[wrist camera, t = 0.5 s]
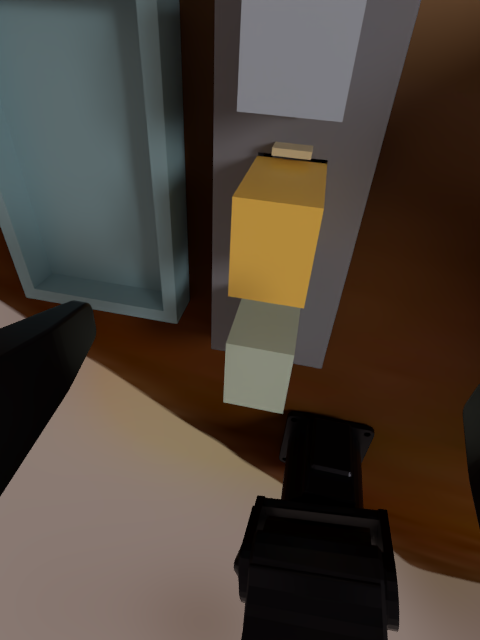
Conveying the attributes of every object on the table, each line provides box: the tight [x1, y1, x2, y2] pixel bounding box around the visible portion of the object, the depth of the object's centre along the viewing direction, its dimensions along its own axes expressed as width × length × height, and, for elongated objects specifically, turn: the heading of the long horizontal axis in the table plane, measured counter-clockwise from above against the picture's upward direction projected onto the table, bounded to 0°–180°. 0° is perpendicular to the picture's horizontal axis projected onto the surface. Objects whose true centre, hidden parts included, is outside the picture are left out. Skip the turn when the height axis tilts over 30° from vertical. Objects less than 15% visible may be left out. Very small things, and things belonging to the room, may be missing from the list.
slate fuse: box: [237, 0, 367, 122], centre depth 12 cm, size 4×3×7 cm
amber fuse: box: [228, 156, 327, 309], centre depth 16 cm, size 4×3×7 cm
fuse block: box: [211, 0, 421, 368], centre depth 18 cm, size 20×7×3 cm, turn 177°
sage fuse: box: [223, 299, 301, 414], centre depth 20 cm, size 4×3×7 cm
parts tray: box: [0, 0, 190, 324], centre depth 19 cm, size 16×10×2 cm, turn 177°
